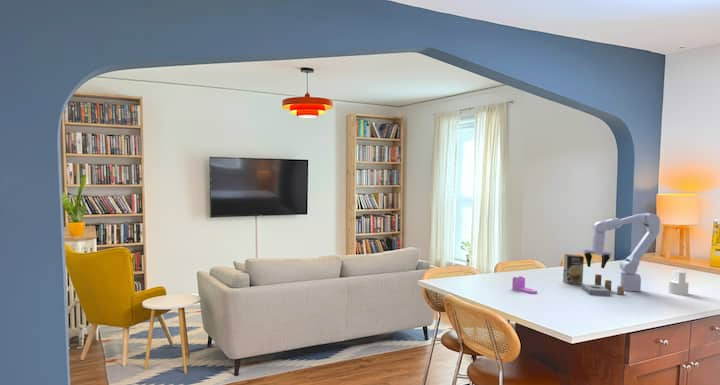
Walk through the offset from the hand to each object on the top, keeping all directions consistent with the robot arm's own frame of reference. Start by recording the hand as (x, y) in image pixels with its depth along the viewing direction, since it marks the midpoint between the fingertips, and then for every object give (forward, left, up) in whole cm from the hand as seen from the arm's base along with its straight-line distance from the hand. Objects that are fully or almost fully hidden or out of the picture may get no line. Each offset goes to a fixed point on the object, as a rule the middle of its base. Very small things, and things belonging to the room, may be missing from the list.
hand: (595, 267), depth 271 cm
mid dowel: (-5, +7, -11) cm, 14 cm away
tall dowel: (-2, 0, -11) cm, 11 cm away
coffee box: (+9, -9, -11) cm, 17 cm away
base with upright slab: (-42, +2, -11) cm, 43 cm away
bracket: (+40, +21, -12) cm, 47 cm away
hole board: (+3, +13, -11) cm, 17 cm away
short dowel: (-9, +14, -11) cm, 20 cm away
